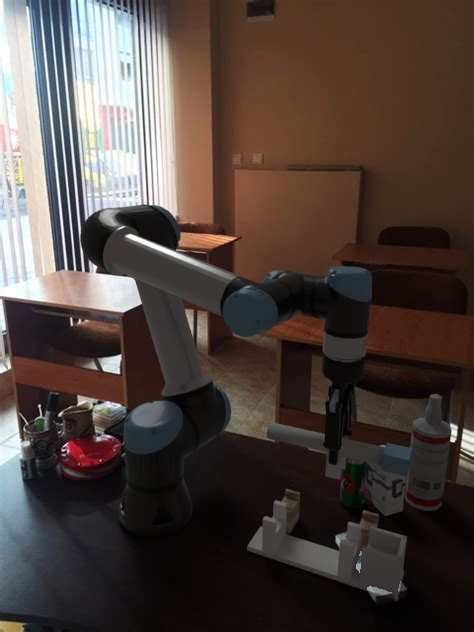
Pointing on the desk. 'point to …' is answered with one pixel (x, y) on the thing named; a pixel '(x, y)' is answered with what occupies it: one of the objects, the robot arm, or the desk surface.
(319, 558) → the clip rail
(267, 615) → the desk surface
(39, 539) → the desk surface
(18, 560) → the desk surface
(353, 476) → the soda can
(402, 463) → the grey rod with block
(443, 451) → the white nozzle bottle
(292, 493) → the clamp blocks
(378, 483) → the ink box
